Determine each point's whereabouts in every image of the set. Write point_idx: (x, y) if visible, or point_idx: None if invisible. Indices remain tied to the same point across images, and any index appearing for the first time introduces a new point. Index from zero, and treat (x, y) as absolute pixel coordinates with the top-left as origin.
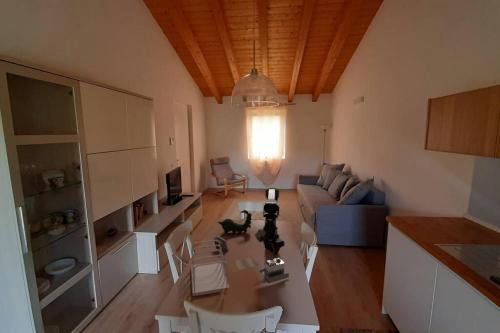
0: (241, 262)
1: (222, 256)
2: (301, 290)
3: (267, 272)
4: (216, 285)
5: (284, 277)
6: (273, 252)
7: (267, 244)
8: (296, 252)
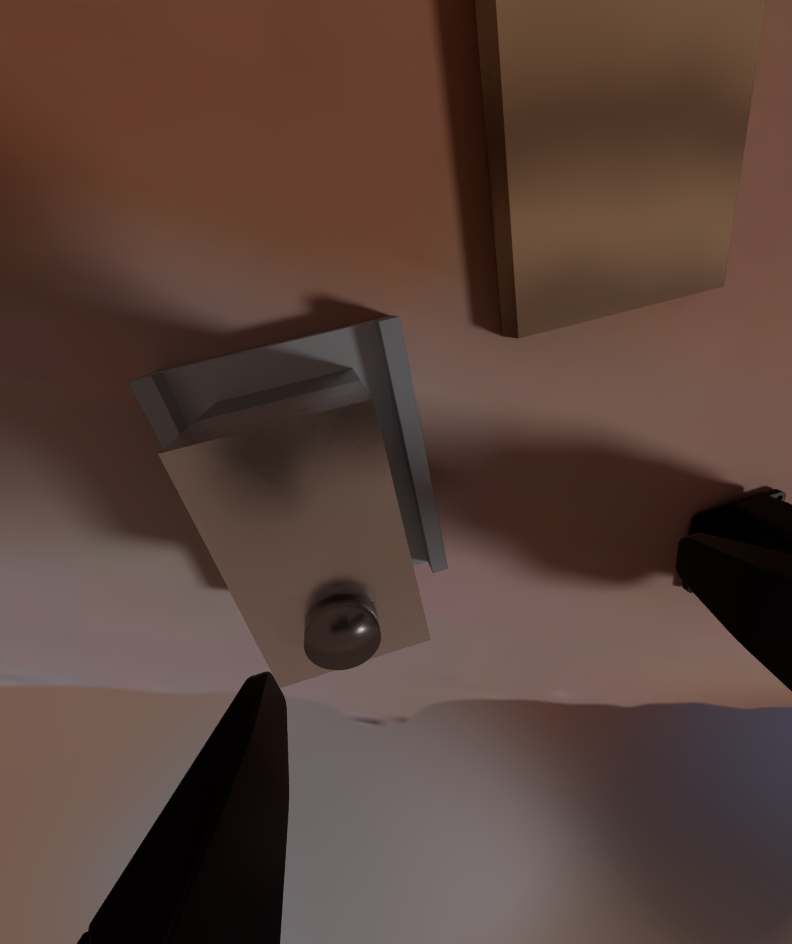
0: (678, 65)
1: None
2: (35, 654)
3: (262, 397)
4: None
5: None
6: (198, 816)
7: (784, 664)
8: (591, 699)
